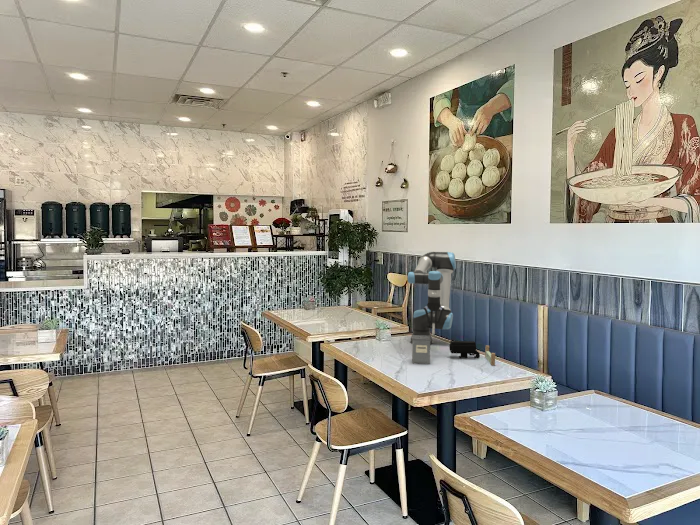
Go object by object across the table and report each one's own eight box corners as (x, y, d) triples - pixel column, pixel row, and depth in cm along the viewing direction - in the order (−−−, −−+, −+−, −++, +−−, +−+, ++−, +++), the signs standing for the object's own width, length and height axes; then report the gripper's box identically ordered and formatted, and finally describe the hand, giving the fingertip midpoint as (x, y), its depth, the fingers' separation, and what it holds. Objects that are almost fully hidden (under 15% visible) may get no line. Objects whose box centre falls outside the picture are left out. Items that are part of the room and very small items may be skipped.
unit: (411, 358, 320) (411, 335, 319) (429, 359, 319) (429, 335, 318) (412, 363, 309) (412, 339, 308) (430, 364, 308) (431, 339, 307)
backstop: (485, 356, 328) (485, 345, 328) (488, 356, 328) (488, 345, 327) (491, 365, 307) (491, 353, 307) (494, 365, 307) (495, 353, 307)
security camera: (480, 359, 321) (481, 343, 320) (450, 358, 321) (451, 342, 321) (478, 356, 328) (478, 340, 327) (448, 356, 328) (449, 340, 328)
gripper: (423, 297, 320) (423, 334, 323) (445, 297, 319) (444, 335, 322) (423, 295, 328) (422, 332, 330) (444, 295, 327) (443, 332, 329)
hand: (433, 333), depth 326 cm, fingers closed
